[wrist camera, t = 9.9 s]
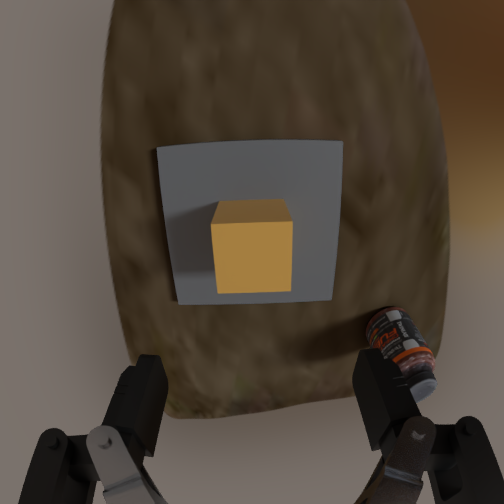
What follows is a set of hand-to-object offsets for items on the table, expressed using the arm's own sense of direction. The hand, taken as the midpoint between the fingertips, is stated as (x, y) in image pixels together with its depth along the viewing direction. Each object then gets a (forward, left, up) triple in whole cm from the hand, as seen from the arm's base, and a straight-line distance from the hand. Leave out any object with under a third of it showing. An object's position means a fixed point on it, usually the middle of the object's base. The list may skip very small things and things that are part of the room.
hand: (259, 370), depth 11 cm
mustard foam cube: (+1, 0, -17) cm, 17 cm away
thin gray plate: (+1, 0, -18) cm, 18 cm away
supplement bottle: (+14, +16, -18) cm, 28 cm away
